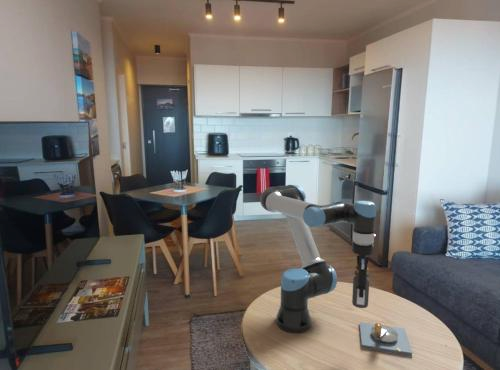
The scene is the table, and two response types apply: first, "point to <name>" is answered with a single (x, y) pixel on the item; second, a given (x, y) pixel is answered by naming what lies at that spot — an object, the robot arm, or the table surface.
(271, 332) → the table surface
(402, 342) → the board
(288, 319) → the robot arm
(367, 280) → the bottle
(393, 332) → the dial
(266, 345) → the table surface
